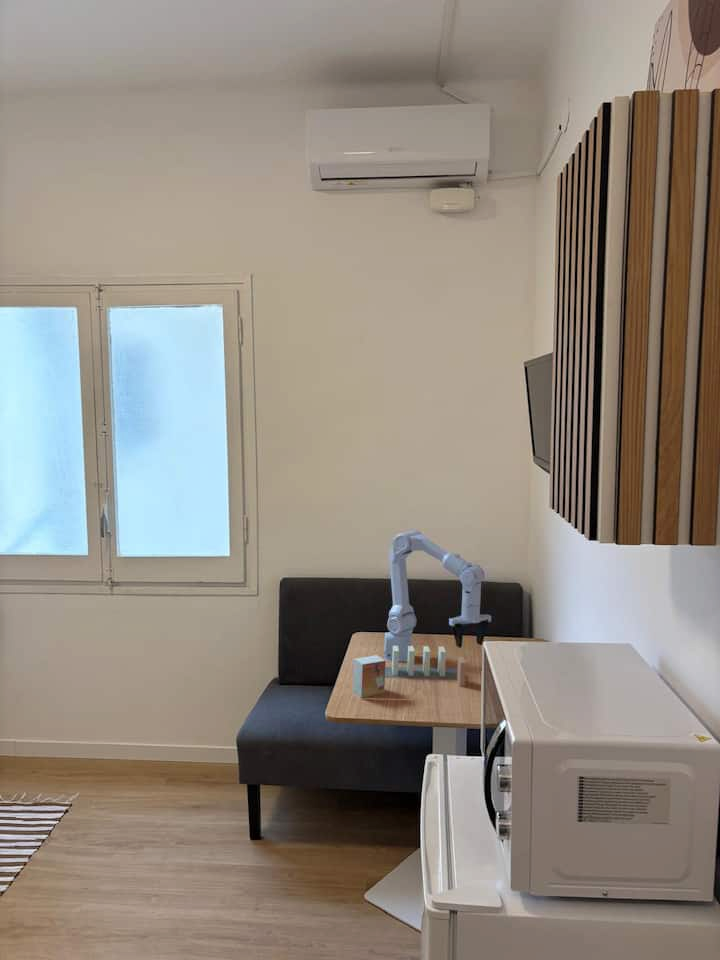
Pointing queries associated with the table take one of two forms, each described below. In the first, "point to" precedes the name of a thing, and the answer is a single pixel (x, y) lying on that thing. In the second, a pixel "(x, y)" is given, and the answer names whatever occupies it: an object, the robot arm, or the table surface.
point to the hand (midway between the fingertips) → (469, 645)
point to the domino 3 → (426, 660)
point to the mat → (421, 673)
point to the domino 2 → (410, 661)
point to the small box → (369, 676)
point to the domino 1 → (395, 660)
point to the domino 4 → (441, 661)
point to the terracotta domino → (461, 671)
